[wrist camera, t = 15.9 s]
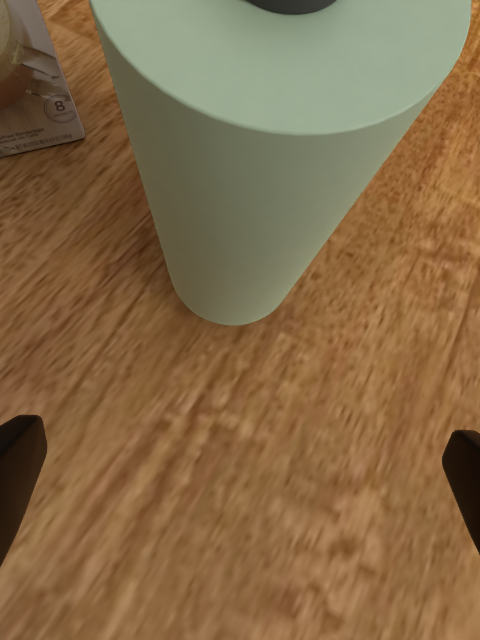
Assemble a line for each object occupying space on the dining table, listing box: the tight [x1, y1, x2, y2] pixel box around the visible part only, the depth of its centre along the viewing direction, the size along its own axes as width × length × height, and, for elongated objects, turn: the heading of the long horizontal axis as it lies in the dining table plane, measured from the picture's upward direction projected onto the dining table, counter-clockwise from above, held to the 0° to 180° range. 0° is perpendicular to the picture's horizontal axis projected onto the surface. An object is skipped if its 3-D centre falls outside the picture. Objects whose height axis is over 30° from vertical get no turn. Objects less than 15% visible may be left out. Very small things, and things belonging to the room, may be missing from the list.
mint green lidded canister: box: [89, 0, 471, 326], centre depth 13 cm, size 13×6×14 cm, turn 176°
